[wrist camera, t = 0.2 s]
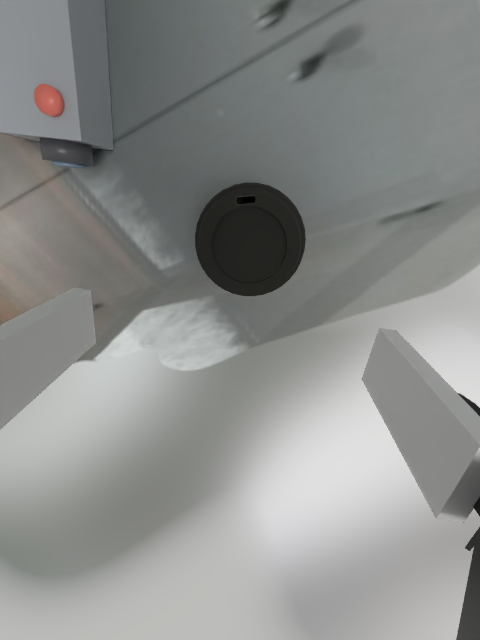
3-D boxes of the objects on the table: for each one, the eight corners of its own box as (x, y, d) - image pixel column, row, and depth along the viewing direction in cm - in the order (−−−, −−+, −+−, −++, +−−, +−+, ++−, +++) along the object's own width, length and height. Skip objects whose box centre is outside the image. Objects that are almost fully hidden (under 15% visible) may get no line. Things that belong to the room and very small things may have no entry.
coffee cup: (219, 266, 40) (198, 304, 27) (211, 189, 37) (182, 187, 23) (291, 262, 40) (307, 299, 26) (291, 182, 36) (309, 176, 22)
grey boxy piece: (8, -72, 29) (-77, -159, 21) (100, -62, 28) (46, -148, 21) (43, 164, 37) (-10, 157, 30) (115, 172, 37) (79, 167, 29)
